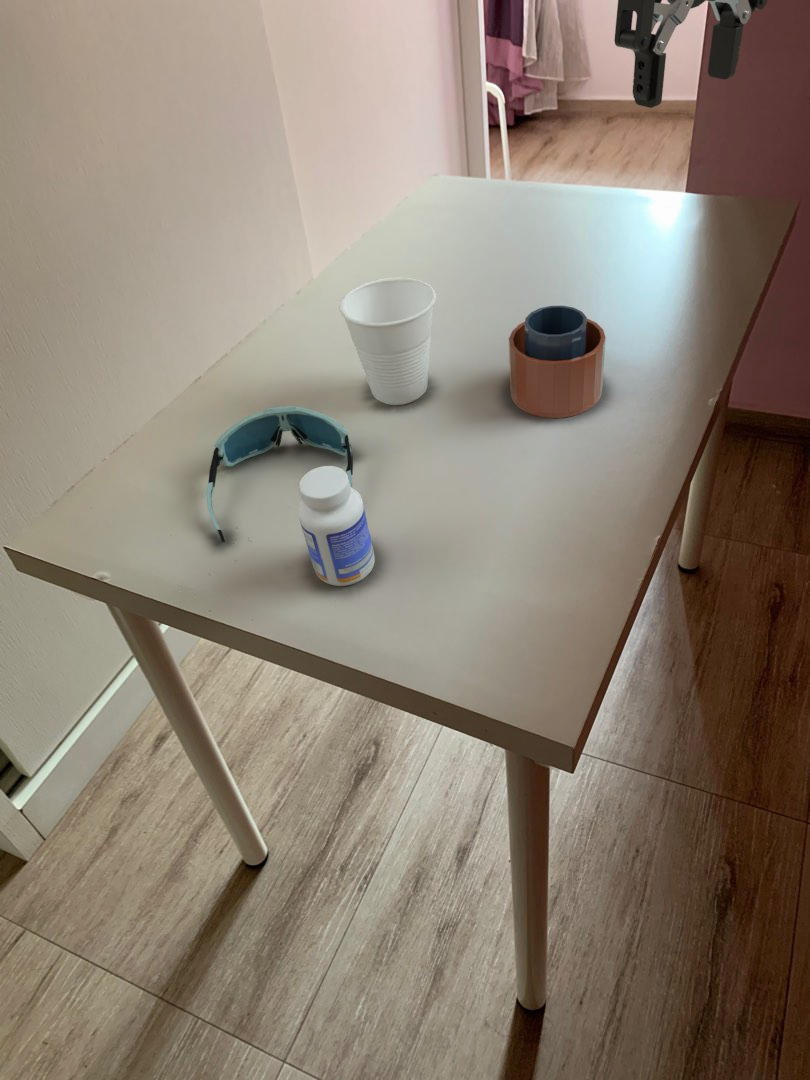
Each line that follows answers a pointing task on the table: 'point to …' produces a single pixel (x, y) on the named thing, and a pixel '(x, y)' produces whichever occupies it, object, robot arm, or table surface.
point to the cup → (392, 335)
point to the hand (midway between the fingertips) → (685, 90)
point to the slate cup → (555, 333)
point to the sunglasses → (276, 440)
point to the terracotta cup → (557, 377)
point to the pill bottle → (335, 527)
